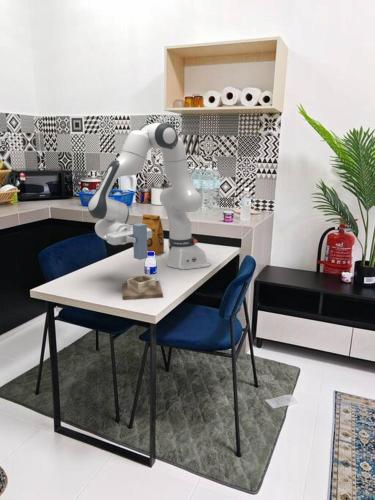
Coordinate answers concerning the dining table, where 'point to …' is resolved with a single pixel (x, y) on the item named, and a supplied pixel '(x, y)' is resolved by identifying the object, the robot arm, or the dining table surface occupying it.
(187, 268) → the robot arm
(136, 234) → the slate peg
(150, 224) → the coffee package
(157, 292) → the socket board
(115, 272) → the dining table surface
